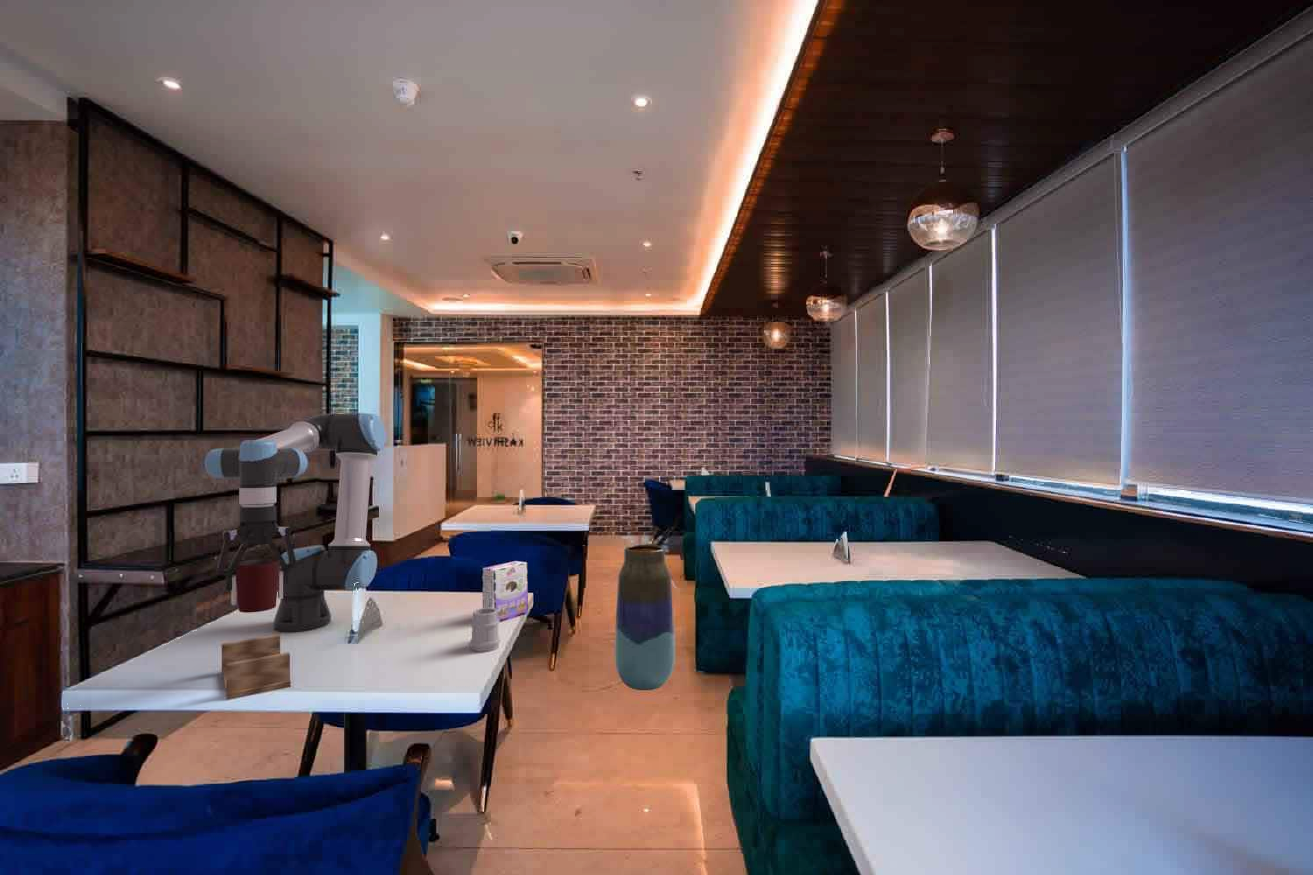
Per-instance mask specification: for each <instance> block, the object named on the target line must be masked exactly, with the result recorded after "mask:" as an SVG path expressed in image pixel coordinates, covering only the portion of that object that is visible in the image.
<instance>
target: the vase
mask: <svg viewBox="0 0 1313 875" xmlns="http://www.w3.org/2000/svg"><path fill="white" fill-rule="evenodd" d="M623 549H624V550H623V551H624V552H623V563H622V566H621V568H620V570H619V572H618V575H617V589H616V610H615V611H616V612H615V633H614V665H615V671H616V673H617V675H618V677H619V678H620V680H621V681H622V682H623V684H624V685H625V686H627V687H628V688H629V689H633V690H636V691H652V690H656V689H659V688H662V687H663V686H664V685H666V684H667V682H668V681H669V679H670V678H671V675H672V674H673V671H674V667H675V659H676V643H675V642H676V641H675V638H676V637H675V622H674V621H675V620H674V607H673V604H674V603H673V589H672V588H673V587H672V574H671V572H670V569H669V567H668V565H667V564H666V555H665V554H666V553H665V552H666V549H665V547H663V546H661V545H657V544H656V545H655V544H634V545H629V546H626V547H625V548H623Z"/></svg>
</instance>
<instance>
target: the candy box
mask: <svg viewBox="0 0 1313 875" xmlns="http://www.w3.org/2000/svg"><path fill="white" fill-rule="evenodd" d="M528 584H529V583H528V562H526V561H518V560H514V561H509V562H505V563H501V564H497V565H492V566H488V567H482V608H483V609H484V608H489V602H490V598H491V597H494V605H495V609H497V617H498V620H499V623H500V622H503V621H506V620H509V619H510V620H511V619H512V618H513V619H514V618H516V617H519V616H521V615H525V614H528V613H529V600H528V599H529V596H528V595H529V594H528V593H529V589H528Z"/></svg>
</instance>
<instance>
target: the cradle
mask: <svg viewBox="0 0 1313 875" xmlns="http://www.w3.org/2000/svg"><path fill="white" fill-rule="evenodd" d="M221 676H222V677H221V678H222V681H223V685H224V689H225V695H226V700H227V701H230V700H233V699H238V698H243V697H248V696H253V695H257V694H262V693H267V692H271V691H276V690H281V689H287V688H290V687H291V682H292V681H291V654H290V652H289V651H288V652H282V653H281V635H280V633H279V634H273V635H268V636H267V635H266V636H260V637H254V638H250V639H244V640H243V639H242V640H238V641H231V642H225V643H221Z"/></svg>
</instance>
